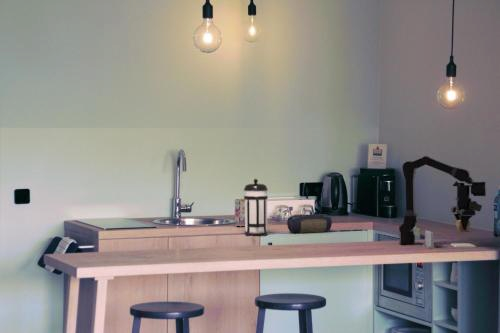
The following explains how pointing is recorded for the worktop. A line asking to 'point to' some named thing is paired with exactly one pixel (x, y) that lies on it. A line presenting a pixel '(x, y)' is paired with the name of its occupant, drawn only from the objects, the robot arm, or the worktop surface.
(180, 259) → the worktop surface
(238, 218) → the candy bar box
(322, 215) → the portable speaker
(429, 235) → the screen
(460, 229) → the letter cube
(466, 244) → the coaster
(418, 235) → the beverage carton
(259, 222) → the coffee press
